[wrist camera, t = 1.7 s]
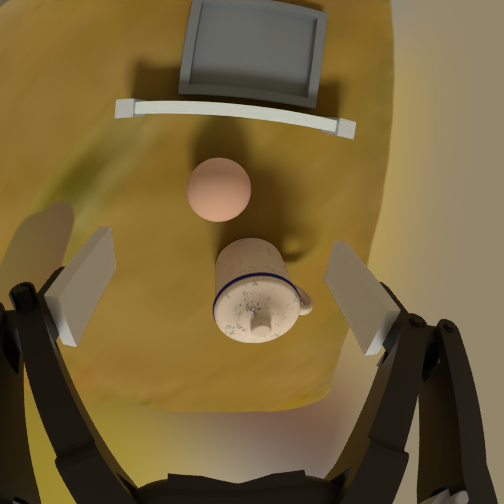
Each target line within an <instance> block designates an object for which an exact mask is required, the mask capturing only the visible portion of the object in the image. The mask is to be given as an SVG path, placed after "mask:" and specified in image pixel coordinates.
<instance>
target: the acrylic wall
mask: <svg viewBox="0 0 504 504" xmlns="http://www.w3.org/2000/svg"><path fill="white" fill-rule="evenodd" d="M150 113H181V114H207V115H223V116H235V117H245V118H254V119H263V120H270V121H277V122H284V123H290V124H296V125H302V126H308V127H313V128H318V129H321V132H325V133H329V134H333V135H337V136H341V137H346V138H350V139H353V138H354V133H355V127H356V122H353V121H349V120H346V119H342V118H333V117H318V116H313V115H308V114H303V113H298V112H292V111H286V110H280V109H273V108H266V107H258V106H250V105H240V104H230V103H216V102H197V101H147V100H141V99H119V100H116V108H115V118H126V117H142V116H145V114H150Z"/></svg>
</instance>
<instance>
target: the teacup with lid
mask: <svg viewBox="0 0 504 504" xmlns="http://www.w3.org/2000/svg"><path fill="white" fill-rule="evenodd" d="M301 301H302V302H303V304H304V305H301ZM312 308H313V301H312V299H311V297H310V296H309V295H308V294H307V293H306V292H305V291H304V290H303V289H301V288H300V287H298V286H296V285H294V284H292V281H291V279H290V276H289V274H288V271H287V269H286V267H285V264H284V262H283V259H282V257H281V254H280V253H279V251H278V250H277V248H276V247H275V246H273V245H272V244H271V243H269V242H267V241H265V240H262V239H259V238H243V239H239V240H236V241H234V242H232V243H230V244H229V245H228V246H226V247H225V248H224V249H223V250H222V251H221V253H220V254H219V256H218V258H217V261H216V265H215V300H214V303H213V316H214V319H215V322H216V323H217V325H218V327H219V328H220V329H221V330H222V332H224V333H225V334H226V335H227V336H229V337H231V338H233V339H235V340H237V341H241V342H246V343H260V342H266V341H270V340H272V339H275V338H277V337H279V336H281V335H282V334H284V333H285V332H287V331H288V330H289V329H290V328H291V327H292V326H293V324H294V323H295V322H296V320H297V318H298V315H305V314H308V313H309V312H310V311H311V310H312Z"/></svg>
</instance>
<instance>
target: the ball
mask: <svg viewBox="0 0 504 504" xmlns="http://www.w3.org/2000/svg"><path fill="white" fill-rule="evenodd" d="M250 195H251V183H250V179H249V177H248V175H247V173H246V171H245V170H244V169H243V168H242V167H241V166H240V165H239V164H238V163H236V162H234V161H232V160H230V159H226V158H212V159H209V160H206V161H204V162H202V163H201V164H199V165H198V166H197V167H196V168H195V169H194V170H193V172H192V173H191V175H190V177H189V179H188V183H187V198H188V201H189V203H190V206H191V207H192V209H193V210H194V211H195V212H196V213H197V214H198V215H199V216H201V217H202V218H204V219H207V220H209V221H214V222H222V221H227V220H230V219H233V218H234V217H236V216H238V215H239V214H240V213H241V212H242V211H243V210H244V209H245V207H246V206H247V204H248V202H249V199H250Z"/></svg>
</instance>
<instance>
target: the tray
mask: <svg viewBox="0 0 504 504" xmlns="http://www.w3.org/2000/svg"><path fill="white" fill-rule="evenodd" d="M326 21H327V13H325V12H322V11H318V10H314V9H310V8H307V7H302V6H298V5H294V4H289V3H284V2H278V1H273V0H193V1H192V6H191V11H190V16H189V21H188V26H187V32H186V38H185V44H184V50H183V57H182V64H181V71H180V79H179V87H178V94H180V95H206V96H222V97H234V98H244V99H253V100H261V101H269V102H275V103H282V104H288V105H294V106H299V107H304V108H309V109H316V102H317V95H318V88H319V80H320V73H321V65H322V57H323V48H324V40H325V31H326Z"/></svg>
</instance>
